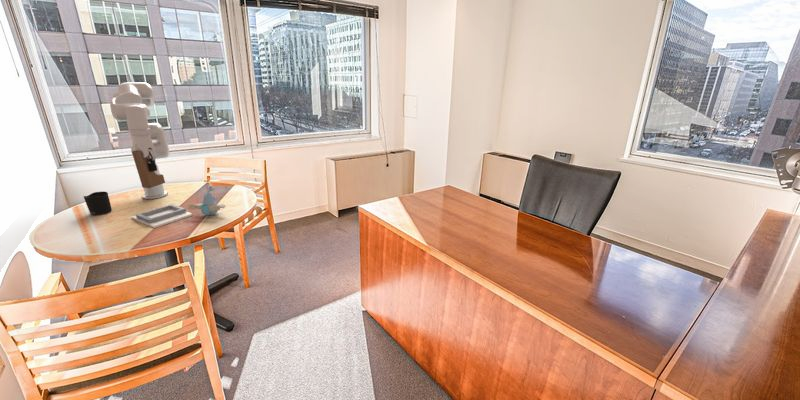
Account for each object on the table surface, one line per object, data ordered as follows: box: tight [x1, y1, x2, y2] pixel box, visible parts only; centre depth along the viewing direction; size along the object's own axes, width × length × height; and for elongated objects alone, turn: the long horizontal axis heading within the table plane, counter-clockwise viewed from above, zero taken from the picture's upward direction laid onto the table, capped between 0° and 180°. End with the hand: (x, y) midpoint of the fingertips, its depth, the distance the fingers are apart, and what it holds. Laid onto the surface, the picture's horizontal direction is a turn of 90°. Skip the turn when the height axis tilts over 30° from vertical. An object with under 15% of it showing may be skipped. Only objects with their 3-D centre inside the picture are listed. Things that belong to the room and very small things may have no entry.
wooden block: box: [131, 150, 166, 188], centre depth 161 cm, size 9×4×18 cm, turn 169°
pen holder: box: [83, 191, 113, 216], centre depth 174 cm, size 9×9×10 cm
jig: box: [130, 203, 193, 229], centre depth 170 cm, size 22×18×3 cm
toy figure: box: [188, 184, 226, 216], centre depth 172 cm, size 17×10×15 cm, turn 84°
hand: (150, 169), depth 162 cm, fingers closed on wooden block, 5 cm apart
